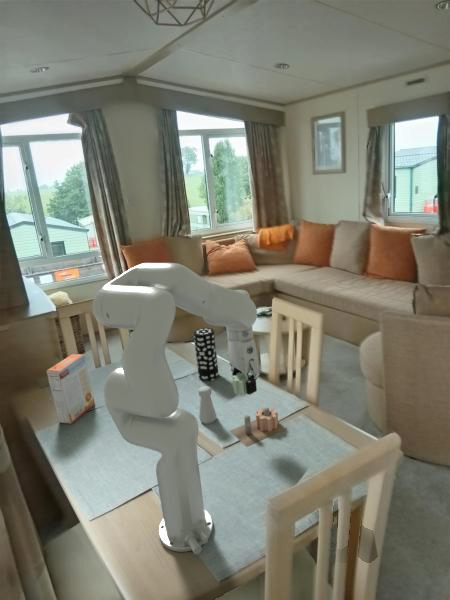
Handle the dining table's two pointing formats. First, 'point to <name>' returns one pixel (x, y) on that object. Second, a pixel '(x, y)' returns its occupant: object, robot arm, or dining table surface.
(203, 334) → the white-spotted black cylinder
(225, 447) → the dining table surface
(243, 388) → the green gear
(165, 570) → the dining table surface
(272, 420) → the terracotta gear
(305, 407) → the dining table surface
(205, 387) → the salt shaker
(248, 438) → the gear board
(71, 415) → the cracker box
